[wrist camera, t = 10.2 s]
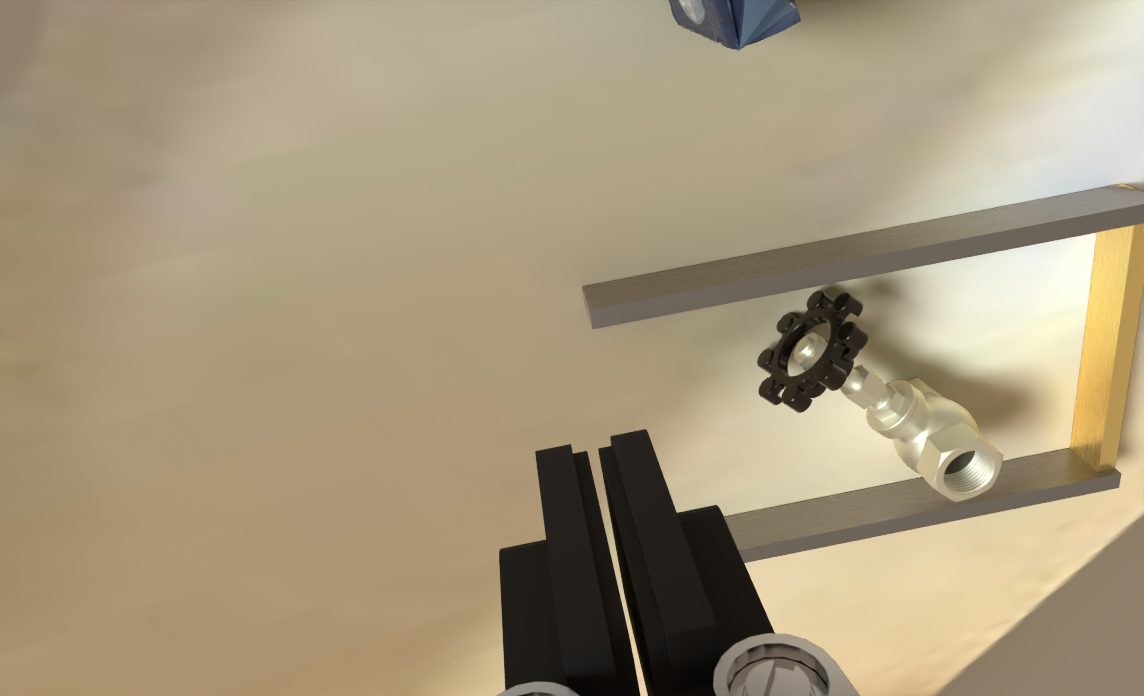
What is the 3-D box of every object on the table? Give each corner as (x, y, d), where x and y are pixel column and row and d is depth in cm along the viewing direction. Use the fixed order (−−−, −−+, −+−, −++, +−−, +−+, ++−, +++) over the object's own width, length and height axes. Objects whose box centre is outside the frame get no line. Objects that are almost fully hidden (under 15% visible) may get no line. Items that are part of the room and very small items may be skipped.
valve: (973, 380, 48) (822, 268, 44) (1044, 443, 42) (877, 320, 38) (891, 464, 49) (739, 364, 45) (948, 535, 44) (780, 428, 40)
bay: (1121, 183, 43) (1165, 199, 40) (1084, 458, 51) (1118, 487, 48) (581, 286, 42) (589, 310, 40) (625, 550, 50) (634, 585, 47)
